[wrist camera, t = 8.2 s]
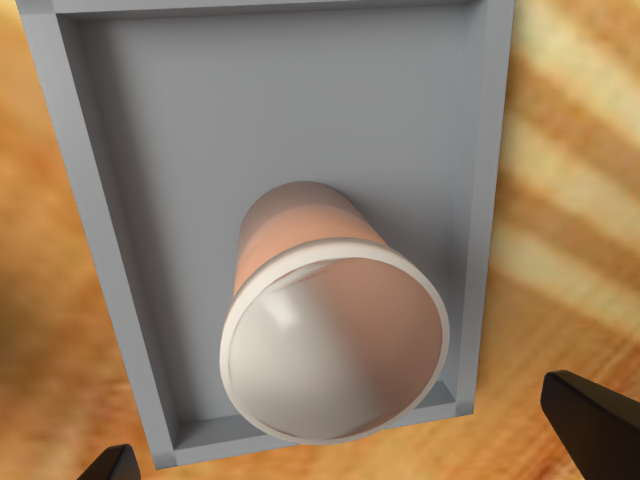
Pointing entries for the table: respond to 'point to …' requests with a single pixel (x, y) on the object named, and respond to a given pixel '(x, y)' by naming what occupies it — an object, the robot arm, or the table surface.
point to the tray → (268, 167)
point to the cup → (326, 321)
